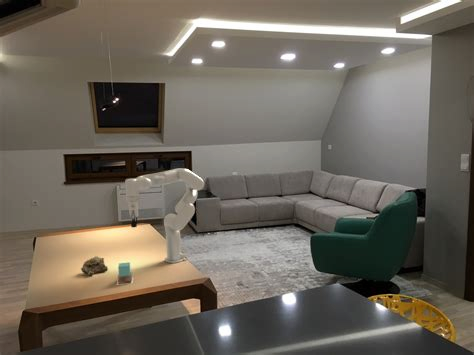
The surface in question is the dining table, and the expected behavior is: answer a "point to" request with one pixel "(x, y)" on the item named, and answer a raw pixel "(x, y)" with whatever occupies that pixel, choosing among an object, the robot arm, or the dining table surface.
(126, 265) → the teal block
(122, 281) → the walnut block
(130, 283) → the grey square mat
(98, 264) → the mineral specimen
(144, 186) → the robot arm
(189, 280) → the dining table surface
